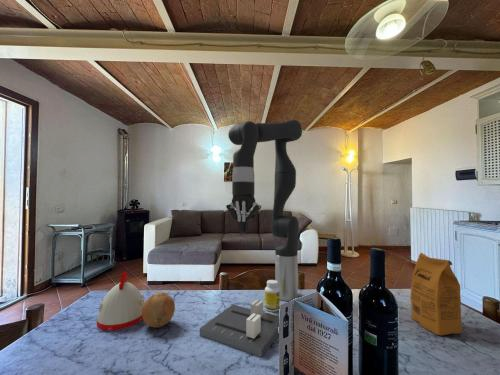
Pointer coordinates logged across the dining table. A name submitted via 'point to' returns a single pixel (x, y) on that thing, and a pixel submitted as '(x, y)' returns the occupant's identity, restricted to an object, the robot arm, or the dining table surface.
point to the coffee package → (436, 296)
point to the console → (241, 330)
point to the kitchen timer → (120, 306)
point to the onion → (158, 310)
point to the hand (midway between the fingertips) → (243, 232)
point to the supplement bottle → (272, 296)
